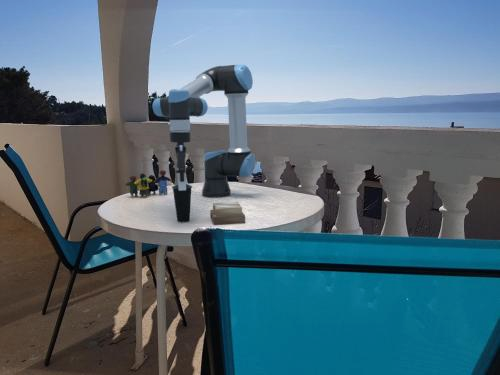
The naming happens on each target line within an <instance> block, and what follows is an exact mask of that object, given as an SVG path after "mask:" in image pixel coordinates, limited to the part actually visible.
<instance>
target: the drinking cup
mask: <svg viewBox="0 0 500 375" xmlns="http://www.w3.org/2000/svg"><path fill="white" fill-rule="evenodd" d="M192 188H193V185H191V184H188V183H186V190H180V191H179V187H178V183H176V184H175V185H173V186H172V187H171V189H172V192H173V198H174V199H173V200H174V206H175V213H176V214H175V215H176V221H177V222H178V223H187V222H190V221H191V219H190V218H191V205H192V204H191V203H192V202H191V201H192Z"/></svg>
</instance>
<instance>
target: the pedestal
mask: <svg viewBox="0 0 500 375" xmlns="http://www.w3.org/2000/svg"><path fill="white" fill-rule="evenodd" d="M209 211H210V219H211V222H212V224H213V226H220V225H221V226H222V225H234V224H235V225H237V224H238V225H239V224H246V215H245V213H244V212H243V207H242V205H241V204H240V203H239V202H238V201H221V202H213V203H212V209H210V210H209Z"/></svg>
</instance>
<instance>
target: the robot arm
mask: <svg viewBox="0 0 500 375" xmlns="http://www.w3.org/2000/svg"><path fill="white" fill-rule="evenodd" d="M252 87H253V75H252V72H251V70H250V68H249V67H248V66H247V65H246V64H229V65H217V66H214V67H211V68H209V69H206V70H205V71H203V72H201V73H199V74H198V75H196V77H195V79H194V80H192V81H191V82H189V83H187V84H186V85H183V86H182V87H181V88H173V89H170V90H168V91H169V92H168V96H165V97H159V98H155V99H154V101H153V102H152V110H153V113H154V115H156V116H157V117H163V118H166V117H167V118H169V122H168V123H167V125H168V126H169V131H171V132H169V141H170V143H176V146H175V147H174V149H175V151H174V152H175V157H176V161H177V162H176V168H177V170H176V172H175V173H176V174H177V184H178V187H179V191H180V190H186V184H187V182H186V181H187V180H186V179H187V178H186V177H187V176H186V174H187V173H186V171H187V169H186V157H187V156H186V154H187V147H186V146H185V144H184V143H190V142H191V133H190V131H191V120H190V119H191V118H190V117H203V116H204V115H206V113H207V112H208V109H209V108H208V106H209V105H208V103H207V100H205V99H204V98H202V97H201V96H203V95H206V94H207V95H208V94H210V93H213V92H224V96H225V97H226V98H227V106H228V107H227V110H228V132H229V148H228V149H227V150H225V149H224V150H217V151H210V152H209V151H208V152H205V154H204V160H203V162H204V183H203V186H202V191H201V196H202V197H205V198H225V197H230V196H231V194H232V191H231V187H230V184H229V182H228V177H239V178H247V177H250V176H252V174H253V173H254V170H255V167H256V157H255V154H252V153H251V149H250V148H249V147H248V132H247V131H248V129H247V107H246V106H247V105H246V103H247V102H246V99H247V98H246V97H247V96H248V95H249V91H250V90H251V89H252Z"/></svg>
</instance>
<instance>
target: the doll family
mask: <svg viewBox="0 0 500 375" xmlns="http://www.w3.org/2000/svg"><path fill="white" fill-rule="evenodd" d="M159 174H160V175H161V176H159V177H157V178H156V176H155V175H153V174H150V175H149V176H148V178H147V177H146V175H147V174H145V173H140V174H139V179H137V176H135V175H134V176H133V175H132V176H130V177H129V179H130V181H127V182H125V186H128V187H129V194H130V195H131V196H130V199H135V198H140V199H146V198H150V196H152V195H153V196H157V193H156V192H157V191H158V195H159V196H168V187H167V186H168V184H167V182H171V183H172V182H173V180H172V178H170V177H168V176H165V175H166V174H167V171H166V170H164V169H162V170H160V171H159ZM136 179H137V180H136ZM152 192H153V193H152ZM138 194H139V195H138ZM139 196H140V197H139Z"/></svg>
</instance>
